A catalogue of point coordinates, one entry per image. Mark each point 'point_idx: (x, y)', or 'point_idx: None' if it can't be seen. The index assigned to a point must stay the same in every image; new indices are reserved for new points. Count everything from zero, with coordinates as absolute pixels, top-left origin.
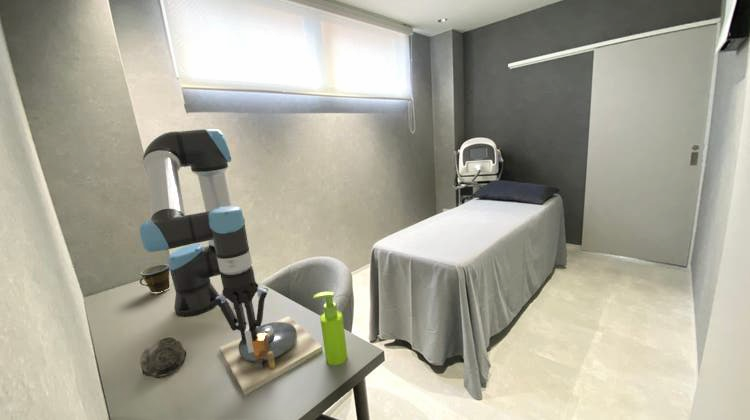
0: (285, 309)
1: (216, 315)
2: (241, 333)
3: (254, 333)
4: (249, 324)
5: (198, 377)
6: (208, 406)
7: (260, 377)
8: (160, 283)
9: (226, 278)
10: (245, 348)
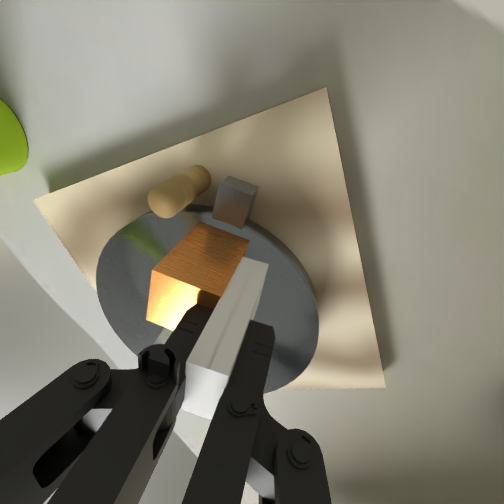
0: (183, 416)
1: (369, 497)
2: (261, 376)
3: (181, 334)
4: (150, 419)
5: (489, 298)
6: (501, 93)
7: (247, 141)
8: None
9: None
10: (290, 318)
